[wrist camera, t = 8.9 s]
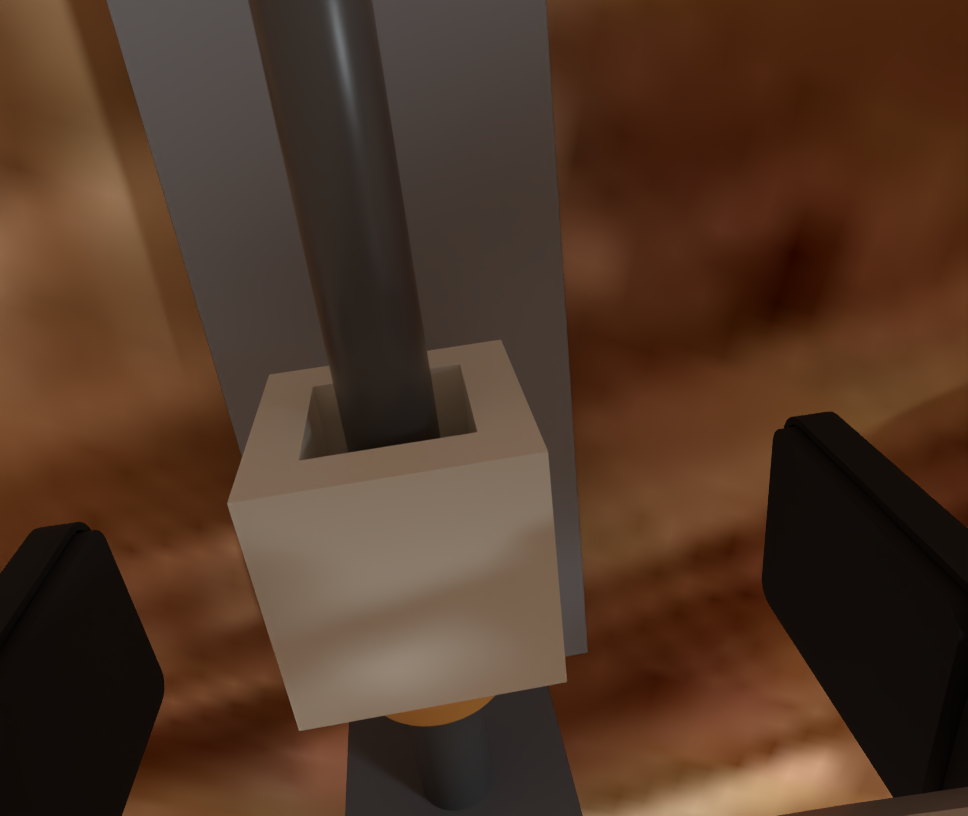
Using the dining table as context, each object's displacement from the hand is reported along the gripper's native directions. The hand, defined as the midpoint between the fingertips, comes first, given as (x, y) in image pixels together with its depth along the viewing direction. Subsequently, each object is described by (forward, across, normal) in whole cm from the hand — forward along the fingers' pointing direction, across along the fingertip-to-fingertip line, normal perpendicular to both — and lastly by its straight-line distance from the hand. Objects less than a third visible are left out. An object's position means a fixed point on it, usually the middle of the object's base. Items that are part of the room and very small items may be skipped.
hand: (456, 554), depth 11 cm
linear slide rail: (+8, +1, -4) cm, 9 cm away
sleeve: (+3, +1, 0) cm, 4 cm away
